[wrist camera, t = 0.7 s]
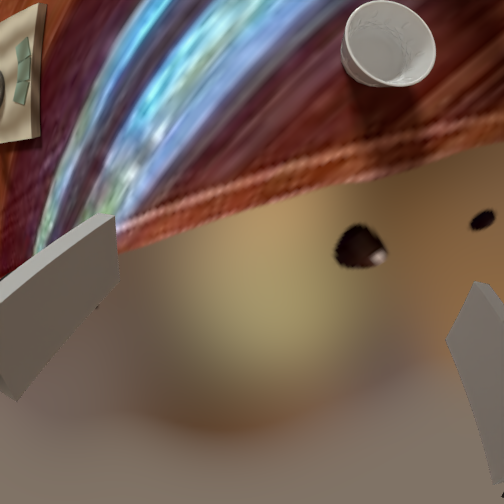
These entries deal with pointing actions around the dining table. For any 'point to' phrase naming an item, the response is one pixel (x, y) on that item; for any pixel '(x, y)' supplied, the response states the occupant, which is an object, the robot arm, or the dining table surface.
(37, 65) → the stand
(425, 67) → the white cup
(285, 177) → the dining table surface
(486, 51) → the dining table surface
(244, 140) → the dining table surface
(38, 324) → the robot arm
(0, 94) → the lever
